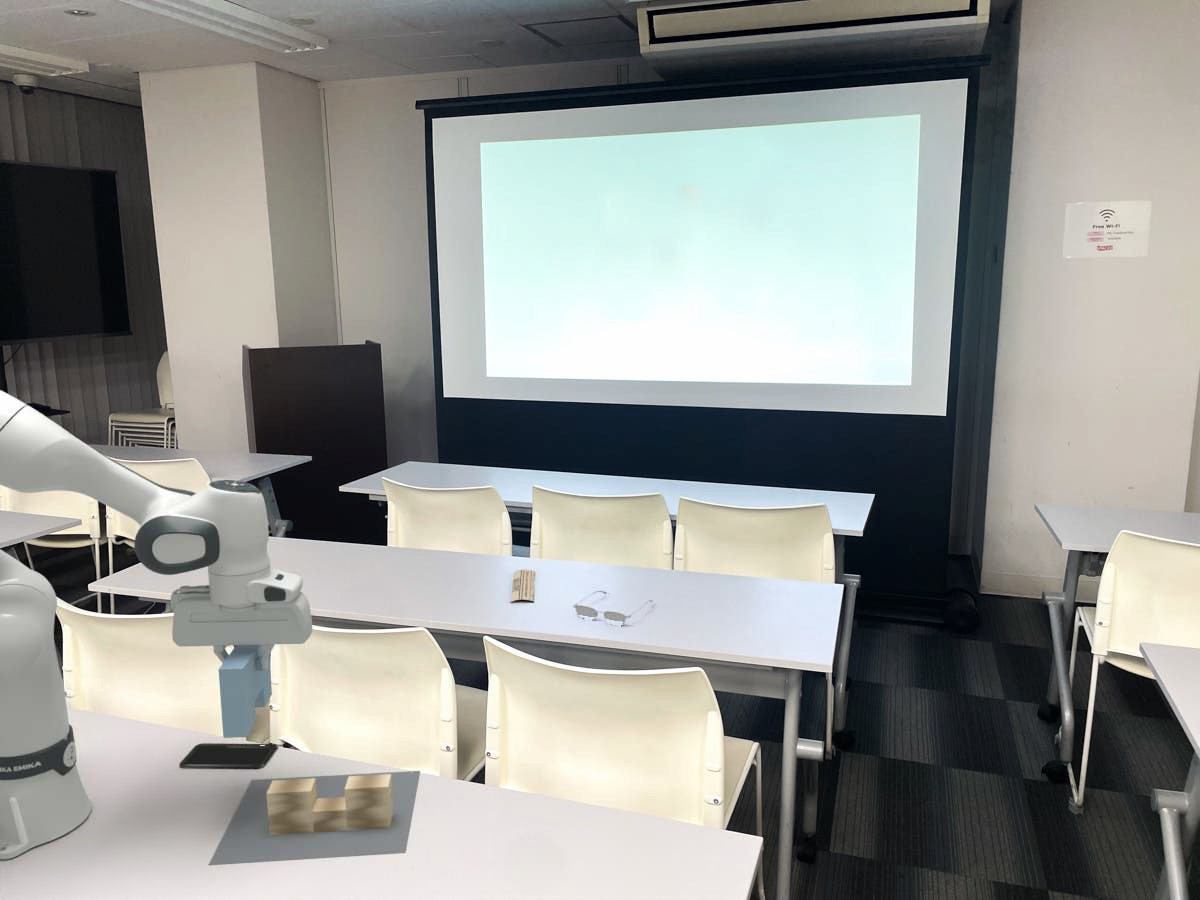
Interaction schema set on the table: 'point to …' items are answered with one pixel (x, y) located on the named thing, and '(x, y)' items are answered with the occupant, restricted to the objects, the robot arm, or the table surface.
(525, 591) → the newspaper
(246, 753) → the phone
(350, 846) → the mat
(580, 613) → the eyeglasses
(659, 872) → the table surface
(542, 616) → the table surface
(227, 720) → the blue plate
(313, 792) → the beech rail
